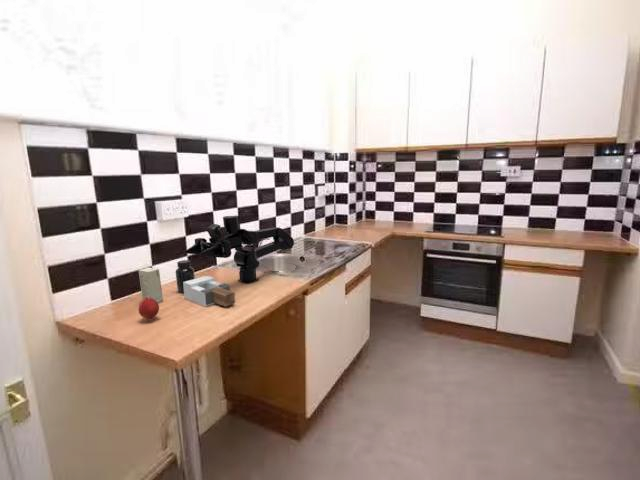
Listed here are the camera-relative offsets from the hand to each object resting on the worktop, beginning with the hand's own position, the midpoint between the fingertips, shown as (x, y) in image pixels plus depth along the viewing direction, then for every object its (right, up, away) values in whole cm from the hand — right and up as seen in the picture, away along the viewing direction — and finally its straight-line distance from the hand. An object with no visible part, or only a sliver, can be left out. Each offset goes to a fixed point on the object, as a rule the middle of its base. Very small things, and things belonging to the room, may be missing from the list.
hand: (193, 253), depth 122 cm
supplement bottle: (-7, -16, +12) cm, 21 cm away
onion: (-8, -21, -15) cm, 27 cm away
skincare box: (-15, -18, +1) cm, 23 cm away
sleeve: (+4, -17, +3) cm, 18 cm away
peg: (+11, -17, -2) cm, 21 cm away
